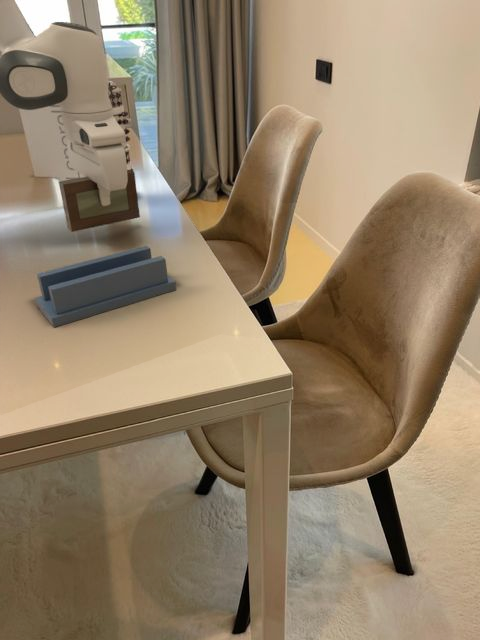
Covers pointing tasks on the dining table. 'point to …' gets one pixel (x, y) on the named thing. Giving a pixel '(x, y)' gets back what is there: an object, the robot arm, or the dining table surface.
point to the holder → (101, 285)
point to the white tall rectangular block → (48, 143)
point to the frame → (97, 203)
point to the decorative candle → (120, 116)
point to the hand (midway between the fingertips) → (101, 202)
